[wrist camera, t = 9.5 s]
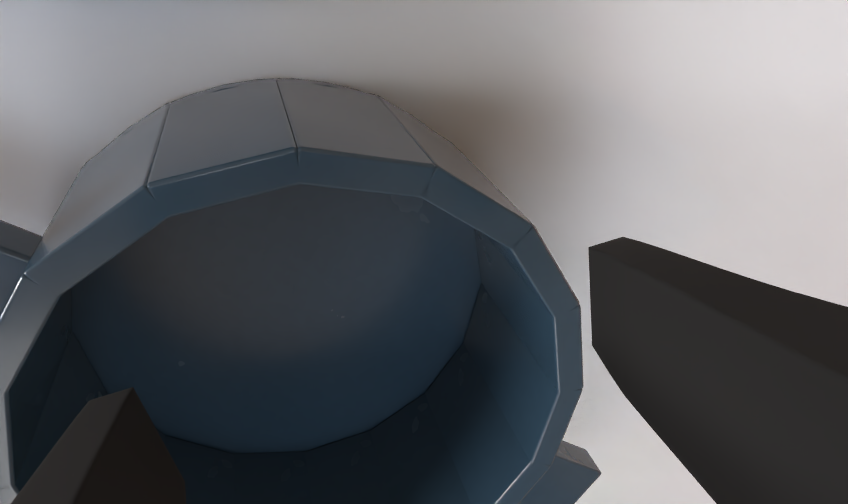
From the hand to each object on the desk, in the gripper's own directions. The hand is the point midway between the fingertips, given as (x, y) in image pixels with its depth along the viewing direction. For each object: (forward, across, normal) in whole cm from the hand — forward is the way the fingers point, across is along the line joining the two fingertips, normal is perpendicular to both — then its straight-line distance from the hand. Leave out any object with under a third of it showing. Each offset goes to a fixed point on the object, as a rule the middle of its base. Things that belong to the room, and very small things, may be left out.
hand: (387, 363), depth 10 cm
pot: (+9, +2, +4) cm, 10 cm away
